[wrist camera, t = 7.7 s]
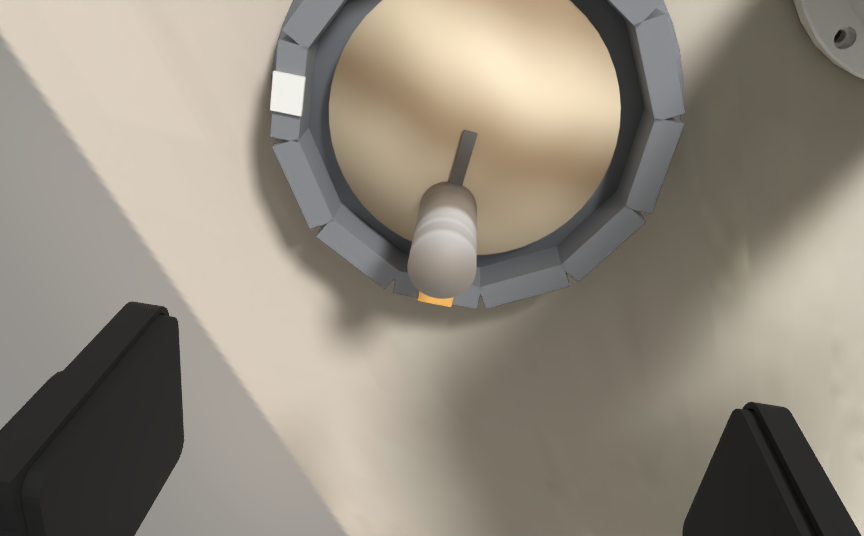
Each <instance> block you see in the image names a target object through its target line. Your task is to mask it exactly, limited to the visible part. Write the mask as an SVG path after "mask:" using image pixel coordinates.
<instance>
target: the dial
mask: <svg viewBox="0 0 864 536" xmlns="http://www.w3.org/2000/svg"><path fill="white" fill-rule="evenodd" d="M620 113H621V103H620V92H619V85H618V80H617V76H616V71H615V68H614V65H613V62H612V60H611V57H610V54H609V52H608V49H607V48H606V46H605V44H604V42H603V40H602V38H601V37H600V35H599V33H598V32H597V30H596V29H595V28H594V26H593V25H592V24H591V22H590V21H589V20H588V18H587V17H586V16H585V15H584V14H583V13H582V12H581V11H580V10H579V9H578V8H577V7H576V6H575V5H574V4H573V3H572V2H571V1H570V0H382V1H381V2H380V3H379V4H378V5H377V6H376V7H375V8H374V9H373V10H372V11H371V12H370V13H369V14H367V15H366V16H365V18H364V19H363V20H362V22H361V23H360V24H359V26H358V27H357V28H356V29H355V31H354V32H353V34H352V35H351V37H350V39H349V41H348V42H347V44H346V46H345V47H344V49H343V52H342V54H341V56H340V59H339V61H338V64H337V66H336V69H335V73H334V77H333V81H332V85H331V92H330V100H329V126H330V133H331V140H332V145H333V148H334V152H335V156H336V159H337V162H338V164H339V166H340V169H341V171H342V173H343V176H344V178H345V179H346V181H347V183H348V184H349V186H350V188H351V190H352V191H353V193H354V194H355V195H356V197H357V198H358V199H359V201H360V202H361V203H362V205H363V206H364V207H365V208H366V209H367V210H368V211H369V212H370V213H371V214H372V215H373V216H374V217H375V218H376V219H377V220H379V221H380V222H381V223H382V224H384V225H385V226H386V227H387V228H389V229H390V230H392V231H393V232H395V233H397V234H398V235H400V236H401V237H403V238H405V239H407V240H409V241H411V242H412V245H411V249H410V254H409V259H408V265H407V269H408V275H409V278H410V280H411V282H412V283H413V285H414V286H415V287H416V288H417V289H418V290H419V291H420V292H422V293H423V294H425V295H427V296H430V297H433V298H439V299H447V298H452V297H456V296H458V295H460V294H462V293H463V292H465V291H466V290H467V289H468V288H469V287H470V286H471V284H472V283H473V281H474V279H475V276H476V259H477V255H488V254H495V253H501V252H506V251H510V250H513V249H517V248H520V247H523V246H526V245H528V244H530V243H533V242H535V241H538V240H540V239H541V238H543V237H545V236H547V235H548V234H550V233H552V232H554V231H555V230H556V229H558V228H559V227H561V226H562V225H563V224H565V223H566V222H567V221H569V220H570V219H571V218H572V217H573V216H574V215H575V214H576V213H577V212H578V211H579V210H580V209H581V208H582V207H583V206H584V205H585V203H586V202H587V201H588V200H589V199H590V197H591V196H592V195H593V194H594V192H595V190H596V189H597V187H598V186H599V184H600V183H601V181H602V180H603V177H604V175H605V173H606V171H607V169H608V167H609V165H610V163H611V160H612V157H613V154H614V151H615V147H616V144H617V139H618V133H619V128H620Z"/></svg>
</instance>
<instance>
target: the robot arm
mask: <svg viewBox="0 0 864 536" xmlns="http://www.w3.org/2000/svg"><path fill="white" fill-rule="evenodd" d="M793 1H794V4H795V7H796V10H797V13H798V16H799V19H800V22H801V23H802V25H803V27H804V28H805V30H806V32H807V33H808V35H809V36H810V38H811V40H812V41H813V43H814V45H815V46H816V47H817V48H818V49H819V50H821V51H822V52H823V53H824V54H825V55H826V56H827V57H828V58H829V59H830V60H831V61H832V62H833V63H834V64H836V65H838V66H839V67H841V68H843V69H844V70H846V71H848V72H849V73H851V74H853V75H854V76H856V77H859V78H862V79H864V0H793ZM839 30H840V31H841V35H840V37H839V38H838V39H837V40H835V41H834V37H835V35H836V33H837V32H838V31H839ZM183 443H184V430H183V409H182V390H181V370H180V349H179V328H178V321H177V319H176V318H175V317H170V316H169V313H168V310H167V308H165V307H163V306H157V305H151V304H144V303H138V302H129V303H127V304H126V305H125V306H124V307H123V308H122V309H121V310H120V311H119V312H118V313H117V314H116V315H115V316H114V318H113V319H112V320H111V321H110V322H109V323H108V324H107V325H106V326H105V327H104V328H103V329H102V330H101V331H100V332H99V334H97V335H96V337H95V338H94V339H93V340H92V341H91V342H90V343H89V344H88V345H87V346H86V347H85V348H84V349H83V350H82V351H81V352H80V353H79V355H78V356H77V357H76V358H75V359H74V360H73V361H72V362H71V363H70V364H69V365H68V366H67V367H66V368H65V369H64V370H63V371H61V372H57V373H56V374H55V375H54V376H52V377H51V378H50V379H49V380H48V381H47V382H46V383H45V384H44V385H43V386H42V387H41V388H40V389H39V390H38V391H37V392H36V393H35V394H34V396H33V397H32V398H31V399H30V400H29V401H28V402H27V403H26V404H25V405H24V406H23V407H22V408H21V409H20V410H19V411H18V412H17V413H16V414H15V415H14V416H13V417H12V419H11V420H10V421H9V422H8V423H7V424H6V425H5V426H4V427H3V428H2V429H1V430H0V536H134V535H135V534H136V532H137V530H138V528H139V527H140V525H141V523H142V522H143V520H144V518H145V516H146V515H147V513H148V511H149V510H150V508H151V506H152V504H153V503H154V501H155V499H156V497H157V496H158V494H159V492H160V491H161V489H162V487H163V486H164V484H165V482H166V480H167V479H168V477H169V475H170V473H171V471H172V470H173V468H174V467H175V465H176V463H177V461H178V460H179V457H180V455H181V452H182V448H183ZM683 536H861V534H860V533H859V531H858V529H857V527H856V526H855V524H854V522H853V520H852V519H851V517H850V515H849V513H848V512H847V510H846V508H845V506H844V505H843V503H842V501H841V499H840V498H839V496H838V494H837V492H836V491H835V489H834V487H833V485H832V484H831V482H830V480H829V478H828V477H827V475H826V473H825V471H824V470H823V468H822V466H821V464H820V463H819V461H818V459H817V457H816V456H815V454H814V452H813V450H812V449H811V447H810V445H809V443H808V442H807V440H806V438H805V436H804V435H803V433H802V431H801V430H800V428H799V426H798V424H797V423H796V421H795V419H794V417H793V416H792V414H791V412H790V411H789V410H788V409H787V408H784V407H780V406H773V405H767V404H761V403H755V402H749V403H747V404H746V405H745V406H744V407H743V409H735V410H734V411H733V412H732V414H731V415H730V418H729V420H728V422H727V425H726V427H725V429H724V431H723V434H722V436H721V438H720V441H719V443H718V445H717V448H716V450H715V452H714V454H713V457H712V459H711V461H710V464H709V466H708V468H707V471H706V473H705V475H704V477H703V480H702V482H701V484H700V487H699V489H698V491H697V494H696V496H695V498H694V500H693V503H692V505H691V507H690V510H689V512H688V514H687V517H686V519H685V522H684V525H683Z"/></svg>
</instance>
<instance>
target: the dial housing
mask: <svg viewBox="0 0 864 536" xmlns="http://www.w3.org/2000/svg"><path fill="white" fill-rule="evenodd" d="M381 1H382V0H293V2H292V4H291V6H290V9H289V11H288V13H287V16H286V18H285V20H284V22H283V25H282V29H281V32H280V36H279V39H278V43H277V46H276V50H275V56H274V63H273V70H272V77H271V104H270V110H272V121H271V133H270V137H274V138H276V139H277V142H276V143H275V145H274V146H273V147H272V148H273V150H274V152H275V154H276V157H277V159H278V161H279V163H280V165H281V167H282V170H283V172H284V174H285V176H286V178H287V180H288V183H289V185H290V187H291V189H292V191H293V194H294V196H295V198H296V200H297V202H298V204H299V207H300V209H301V211H302V213H303V215H304V217H305V220H306V222H307V224H308V226H309V228H310V229H311V228H314V227H317V226H321V228H320V230H319V232H318V234H317V236H316V237H317V238H319V239H320V240H321V241H322V242H324V243H325V244H326V245H328V246H329V247H330V248H332V249H333V250H334V251H335V252H337V253H338V254H339V255H341V256H342V257H343V258H345V259H346V260H347V261H349V262H350V263H351V264H352V265H354V266H355V267H356V268H358V269H359V270H360V271H362V272H363V273H364V274H365V275H367V276H368V277H369V278H371V279H372V280H373V281H375V282H376V283H377V284H378V285H380V286H381V287H382V288H384V289H385V288H386V287H387V286H388V285H389V284H390V282H391V281H392V280H393V279H394V280H395V286H394V291H393V293H396V294H401V295H406V296H412V297H417V298H418V301H421V302H426V303H432V304H437V305H442V306H447V307H451V306H452V304H453V305H458V306H463V307H468V308H473V309H477V305H478V301H479V297H480V296H482V299H483V301H484V304H485V307H486V309H487V308H491V307H495V306H499V305H502V304H506V303H510V302H514V301H517V300H521V299H525V298H529V297H532V296H536V295H540V294H543V293H547V292H551V291H555V290H558V289H562V288H566V287H570V286H569V282H568V278H567V274H568V273H569V274H570V275H571V276H572V277H573V278H575V279H576V280H577V281H578V282H579V281H580V280H581V279H582V278H583V277H584V276H586V275H587V274H588V273H589V272H590V271H591V270H592V269H593V268H595V267H596V266H597V265H598V264H599V263H600V262H601V261H602V260H604V259H605V258H606V257H607V256H608V255H609V254H610V253H611V252H613V251H614V250H615V249H616V248H617V247H618V246H619V245H620V244H622V243H623V242H624V241H625V240H626V239H627V238H628V237H629V236H631V235H632V234H633V233H634V232H635V231H636V230H637V229H638V228H640V227H641V226H642V225H643V224H644V223H645V220H644V218H643V216H642V215H641V212H647V213H652V211H653V208H654V206H655V203H656V200H657V197H658V195H659V192H660V189H661V186H662V184H663V181H664V178H665V176H666V173H667V170H668V167H669V165H670V162H671V159H672V156H673V154H674V151H675V148H676V145H677V143H678V140H679V137H680V134H681V132H682V129H683V126H684V123H683V122H682V121H681V120H680V118H681V114H684V113H685V109H684V104H683V74H682V66H681V57H680V49H679V46H678V42H677V38H676V34H675V30H674V26H673V23H672V20H671V18H670V15H669V13H668V11H667V8H666V6H665V3H664V1H663V0H570V1H571V2H572V3H573V4H574V5H575V6H576V7H577V8H578V9H579V10H580V11H581V12H582V13H583V14H584V15H585V16H586V17H587V18H588V20H589V21H590V22H591V24H592V25H593V26H594V28H595V29H596V30H597V32H598V33H599V35H600V37H601V38H602V40H603V42H604V44H605V46H606V48H607V49H608V52H609V54H610V57H611V60H612V62H613V65H614V68H615V71H616V76H617V80H618V85H619V92H620V103H621V113H620V128H619V133H618V139H617V144H616V147H615V151H614V154H613V157H612V160H611V163H610V165H609V167H608V169H607V171H606V173H605V175H604V177H603V180H602V181H601V183H600V184H599V186H598V187H597V189H596V190H595V192H594V194H593V195H592V196H591V197H590V199H589V200H588V201H587V202H586V203H585V205H584V206H583V207H582V208H581V209H580V210H579V211H578V212H577V213H576V214H575V215H574V216H573V217H572V218H571V219H570V220H569V221H567V222H566V223H565V224H563V225H562V226H561V227H559V228H558V229H556V230H555V231H554V232H552V233H550V234H548V235H547V236H545V237H543V238H541V239H540V240H538V241H535V242H533V243H530V244H528V245H526V246H523V247H520V248H517V249H513V250H510V251H506V252H501V253H495V254H488V255H477V259H476V276H475V279H474V281H473V283H472V284H471V286H470V287H469V288H468V289H467V290H466V291H465V292H463V293H462V294H460V295H458V296H456V297H452V298H447V299H439V298H433V297H430V296H427V295H425V294H423V293H422V292H420V291H419V290H418V289H417V288H416V287H415V286H414V285H413V283H412V282H411V280H410V278H409V275H408V269H407V265H408V259H409V254H410V249H411V245H412V242H411V241H409V240H407V239H405V238H403V237H401V236H400V235H398V234H397V233H395V232H393V231H392V230H390V229H389V228H387V227H386V226H385V225H384V224H382V223H381V222H380V221H379V220H377V219H376V218H375V217H374V216H373V215H372V214H371V213H370V212H369V211H368V210H367V209H366V208H365V207H364V206H363V205H362V203H361V202H360V201H359V199H358V198H357V197H356V195H355V194H354V193H353V191H352V190H351V188H350V186H349V184H348V183H347V181H346V179H345V178H344V176H343V173H342V171H341V169H340V166H339V164H338V162H337V159H336V156H335V152H334V148H333V145H332V140H331V133H330V126H329V100H330V92H331V85H332V81H333V77H334V73H335V69H336V66H337V64H338V61H339V59H340V56H341V54H342V52H343V49H344V47H345V46H346V44H347V42H348V41H349V39H350V37H351V35H352V34H353V32H354V31H355V29H356V28H357V27H358V26H359V24H360V23H361V22H362V20H363V19H364V18H365V16H366V15H367V14H369V13H370V12H371V11H372V10H373V9H374V8H375V7H376V6H377V5H378V4H379V3H380V2H381Z"/></svg>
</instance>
